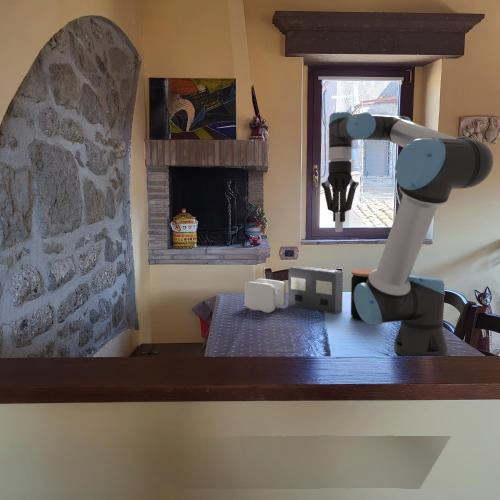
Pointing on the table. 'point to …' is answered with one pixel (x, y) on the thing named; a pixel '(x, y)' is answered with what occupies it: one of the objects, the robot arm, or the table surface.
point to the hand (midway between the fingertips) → (338, 231)
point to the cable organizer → (265, 295)
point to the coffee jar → (357, 278)
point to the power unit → (315, 289)
